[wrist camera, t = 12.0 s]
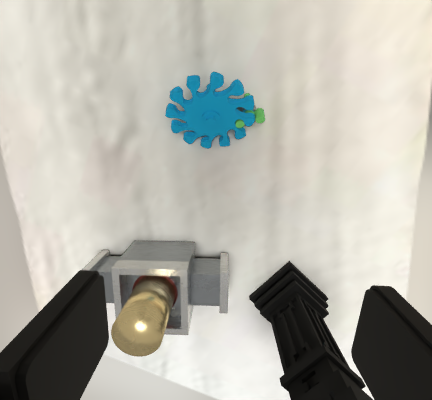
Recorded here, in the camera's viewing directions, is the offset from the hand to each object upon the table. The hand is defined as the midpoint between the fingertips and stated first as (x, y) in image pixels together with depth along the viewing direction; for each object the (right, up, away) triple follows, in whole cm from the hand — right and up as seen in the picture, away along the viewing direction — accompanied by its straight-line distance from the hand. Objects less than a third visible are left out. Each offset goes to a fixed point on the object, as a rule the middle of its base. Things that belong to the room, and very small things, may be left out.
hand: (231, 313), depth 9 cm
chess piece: (+10, -10, +30) cm, 33 cm away
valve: (-8, -6, +29) cm, 31 cm away
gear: (-1, +15, +24) cm, 28 cm away
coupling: (-8, -7, +23) cm, 26 cm away
